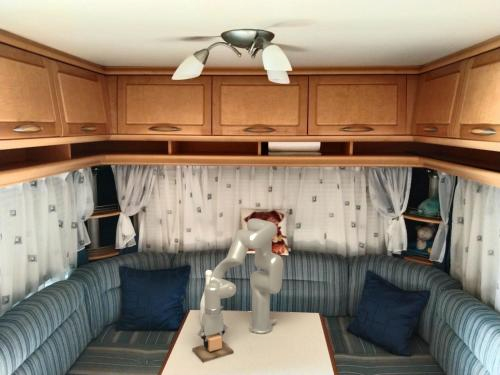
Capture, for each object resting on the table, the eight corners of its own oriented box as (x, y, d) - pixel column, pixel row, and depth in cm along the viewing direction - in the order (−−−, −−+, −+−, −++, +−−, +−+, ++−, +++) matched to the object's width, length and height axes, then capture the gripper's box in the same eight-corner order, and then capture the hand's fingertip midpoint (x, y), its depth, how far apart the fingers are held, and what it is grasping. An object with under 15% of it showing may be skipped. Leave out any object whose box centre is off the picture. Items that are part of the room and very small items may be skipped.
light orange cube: (215, 342, 218) (215, 331, 217) (221, 348, 212) (221, 337, 211) (203, 345, 214) (203, 334, 213) (209, 351, 209) (209, 340, 208)
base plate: (221, 342, 223) (221, 333, 222) (233, 353, 213) (233, 343, 212) (192, 351, 215) (192, 341, 214) (203, 362, 204) (202, 352, 204)
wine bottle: (217, 327, 239) (216, 274, 234) (199, 327, 239) (198, 273, 234) (218, 320, 248) (218, 268, 244) (201, 319, 248) (201, 267, 244)
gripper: (224, 303, 218) (225, 338, 221) (192, 311, 209) (192, 347, 212) (232, 309, 212) (232, 344, 215) (199, 317, 203) (199, 354, 206)
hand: (212, 345), depth 213 cm, fingers closed on light orange cube, 6 cm apart
